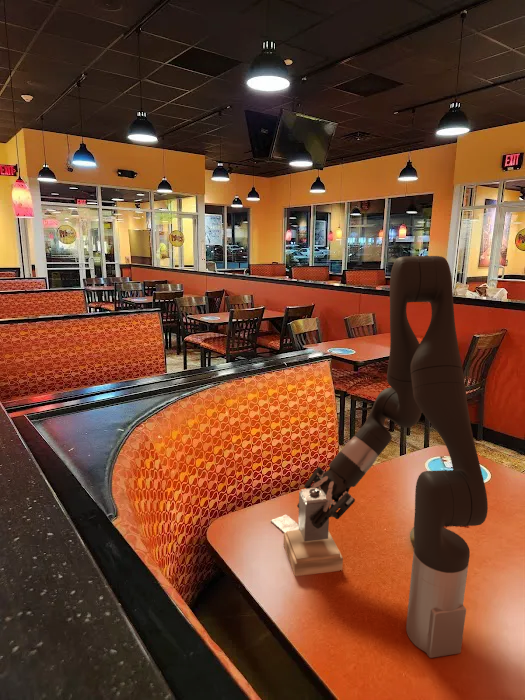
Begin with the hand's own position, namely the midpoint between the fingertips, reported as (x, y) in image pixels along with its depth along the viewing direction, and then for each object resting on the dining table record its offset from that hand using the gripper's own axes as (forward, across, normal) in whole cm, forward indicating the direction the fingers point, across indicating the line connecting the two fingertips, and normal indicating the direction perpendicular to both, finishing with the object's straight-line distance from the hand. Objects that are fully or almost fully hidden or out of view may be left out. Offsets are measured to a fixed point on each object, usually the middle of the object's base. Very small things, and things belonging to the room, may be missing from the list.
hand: (307, 517), depth 104 cm
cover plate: (+7, -13, +9) cm, 17 cm away
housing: (+2, 0, +4) cm, 5 cm away
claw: (-16, +5, +33) cm, 37 cm away
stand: (+7, 0, +9) cm, 11 cm away
